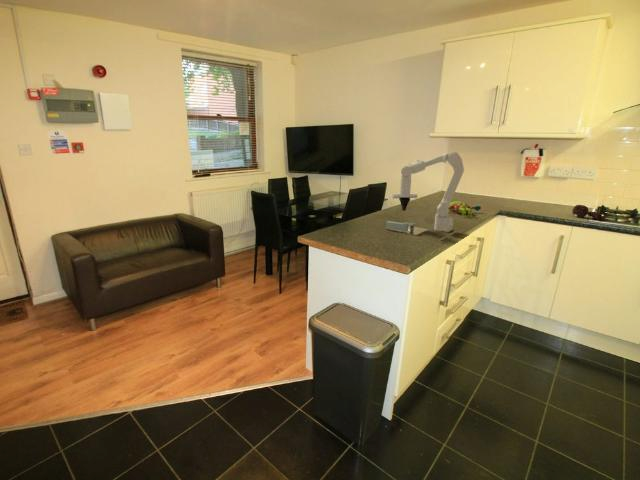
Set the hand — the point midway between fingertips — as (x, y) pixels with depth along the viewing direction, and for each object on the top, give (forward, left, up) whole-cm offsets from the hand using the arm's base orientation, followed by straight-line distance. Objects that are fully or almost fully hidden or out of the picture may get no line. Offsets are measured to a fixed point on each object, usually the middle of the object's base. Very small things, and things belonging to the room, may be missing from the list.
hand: (403, 210), depth 198 cm
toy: (-11, -64, -11) cm, 66 cm away
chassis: (-6, +5, -10) cm, 13 cm away
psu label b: (-7, +7, -9) cm, 14 cm away
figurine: (-81, -104, -11) cm, 132 cm away
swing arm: (-5, +11, -9) cm, 15 cm away
